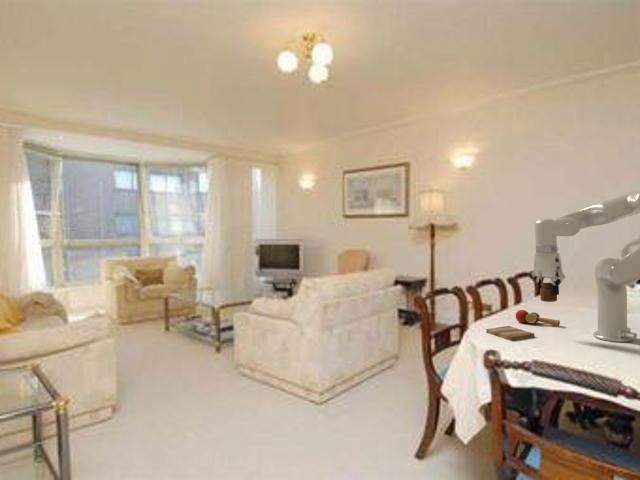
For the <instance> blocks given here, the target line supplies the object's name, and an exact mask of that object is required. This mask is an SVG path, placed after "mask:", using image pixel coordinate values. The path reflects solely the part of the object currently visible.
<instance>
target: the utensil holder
mask: <svg viewBox="0 0 640 480" xmlns="http://www.w3.org/2000/svg"><path fill="white" fill-rule="evenodd" d="M539 275H540V273H539ZM540 279H541V282H542V278H541V276H540ZM548 279H549V282H544V281H543V282H542V283H541V289H540V293H539V295H540V301H542V302H547V303H553V302H554V303H555V302H556V301H558V295H552V291H551V285H553V284H552V281H551V279H550V278H548ZM554 280H555V279H554ZM555 281H556V280H555Z"/></svg>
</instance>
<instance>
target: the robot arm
mask: <svg viewBox="0 0 640 480" xmlns="http://www.w3.org/2000/svg"><path fill="white" fill-rule="evenodd" d="M638 214H640V190H635V191H632V192H628V193H625V194H623V195H620V196H617V197H614V198H612V199H609V200H605V201H603V202H600V203H597V204H594V205H591V206H588V207H585V208H583V209H580V210H576V211H574V212H571V213H569V214H568V213H567V214H566V215H562V216H560V217H556V218H555V219H552V218H551V219H550V218H546V219H537V220H536V221H535V222H534V238H535V239H534V240H535V254H534V259H533V270H532V272H531V274H530V275H531V276H532V278H533V279H534V281H535V283H536V284H537V292H538V294H540V289H541V283H542V282H543V283H544V280H545V278H547V279H549V278H550V279H549V280H551V283H552V284H553V285H551V291H552V295H557V296H558V295H560V288H559V287H560V285H561V283H562V282H563V281H564V280H565V279H566V276H565V274H564V273H563V265H562V259H561V255H560V253H559V252H558V251H559V249H560V248H559V247H558V244H557V237H574V236H576V235H577V234H578V233H579V232H580V231H581V230H582V229H586V228H589V227H595V226H596V227H597V226H603V225H607V224H611V223H613V222H616V221H619V220H623V219H626V218H628V217H630V216H631V217H632V216H634V215H638ZM620 257H621V258H615V257H614V258H611V257H607V258H603V259H601V260H599V261H597V263H596V265H595V267H594V277H595V283H596V292H597V293H596V294H597V296H596V297H597V298H596V299H597V300H596V301H597V309H596V310H597V330H596V331H593V332H592V333H593V337H594V338H596V339H599V340H603V341H609V342H616V343H617V342H618V343H621V342H622V343H626V342H627V343H628V342H631V341H633V340H636V339H637V337H638V333H637V332H632V331H631V328H630V327H628V291H627V286H630V285H633V284H634V283H637V282H638V281H639V280H640V235H638V236H636V237H635V238H634V239H633V240H631V241H629V242H628V243H627V244H625V245H624V246H623V247H622V249H621V250H620ZM539 273H540V275H539ZM540 276H541V278H542V282H541V279H540ZM554 279H555V280H554Z"/></svg>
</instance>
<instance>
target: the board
mask: <svg viewBox="0 0 640 480" xmlns="http://www.w3.org/2000/svg"><path fill="white" fill-rule="evenodd" d="M485 333H487V334H490V335H493V336H495V337H498V338H501V339H504V340H506V341H507V340H508V341H510V342H512V341H519V340H524V339H525V340H526V339H530V338H535V333H534V332H531V331H527V330H524V329H520V328H517V327H513V326H510V325H505V326H498V327H493V328H492V327H491V328H486V332H485Z"/></svg>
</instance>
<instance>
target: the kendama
mask: <svg viewBox="0 0 640 480" xmlns="http://www.w3.org/2000/svg"><path fill="white" fill-rule="evenodd" d="M515 319H516V321H517V322H519V323H520V322H521V323H520V324H525V323H527V324H528V323H530V324H534V323H539V322H540V323H544V324H548V325H551V326H555V327H557V328H558V327H560V323H561V321H560V319H553V318H548V317H540V314H539V313H538V312H530V313H529V311H527V310H525V309H519V310H518V311H516V312H515Z"/></svg>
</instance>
